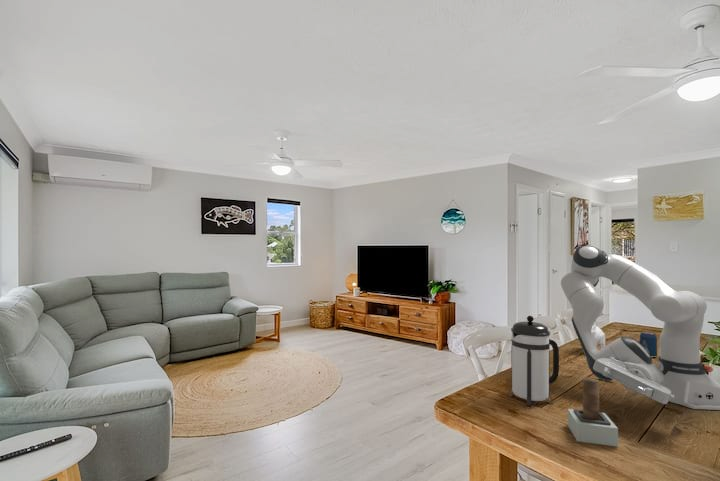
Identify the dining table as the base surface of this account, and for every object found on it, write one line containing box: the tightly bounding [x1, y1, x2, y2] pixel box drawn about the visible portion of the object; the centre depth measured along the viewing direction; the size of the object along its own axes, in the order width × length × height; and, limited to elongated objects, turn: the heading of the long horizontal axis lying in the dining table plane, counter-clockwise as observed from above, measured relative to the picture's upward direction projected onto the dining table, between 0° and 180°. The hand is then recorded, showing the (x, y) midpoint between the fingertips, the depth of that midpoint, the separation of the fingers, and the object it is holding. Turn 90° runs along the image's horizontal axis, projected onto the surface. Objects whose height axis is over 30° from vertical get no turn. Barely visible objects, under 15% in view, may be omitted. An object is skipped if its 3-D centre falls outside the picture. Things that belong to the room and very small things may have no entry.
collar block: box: [567, 408, 619, 448], centre depth 108 cm, size 10×10×6 cm
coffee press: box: [507, 315, 560, 408], centre depth 135 cm, size 17×16×30 cm
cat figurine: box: [591, 323, 606, 349], centre depth 197 cm, size 25×10×17 cm, turn 135°
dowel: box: [582, 377, 600, 420], centre depth 109 cm, size 4×4×16 cm
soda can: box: [639, 331, 658, 357], centre depth 191 cm, size 7×7×12 cm
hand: (622, 382), depth 113 cm, fingers open, 8 cm apart
